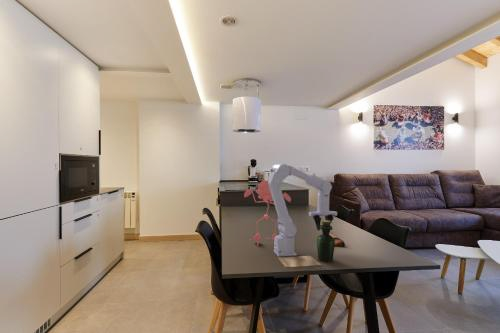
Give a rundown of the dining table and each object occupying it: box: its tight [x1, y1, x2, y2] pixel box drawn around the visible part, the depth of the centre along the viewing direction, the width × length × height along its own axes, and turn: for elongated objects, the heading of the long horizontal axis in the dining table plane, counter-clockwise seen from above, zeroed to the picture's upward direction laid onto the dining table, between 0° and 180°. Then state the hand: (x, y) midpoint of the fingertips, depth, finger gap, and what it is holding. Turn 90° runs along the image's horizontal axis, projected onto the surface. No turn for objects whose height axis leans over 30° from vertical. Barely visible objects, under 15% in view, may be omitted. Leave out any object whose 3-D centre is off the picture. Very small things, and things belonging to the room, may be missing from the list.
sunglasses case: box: [329, 231, 346, 248], centre depth 149 cm, size 18×7×7 cm
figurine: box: [243, 179, 292, 246], centre depth 147 cm, size 15×26×35 cm, turn 84°
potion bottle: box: [316, 219, 335, 263], centre depth 121 cm, size 8×8×18 cm
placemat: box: [277, 255, 322, 269], centre depth 119 cm, size 16×11×1 cm
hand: (322, 229), depth 135 cm, fingers open, 4 cm apart
